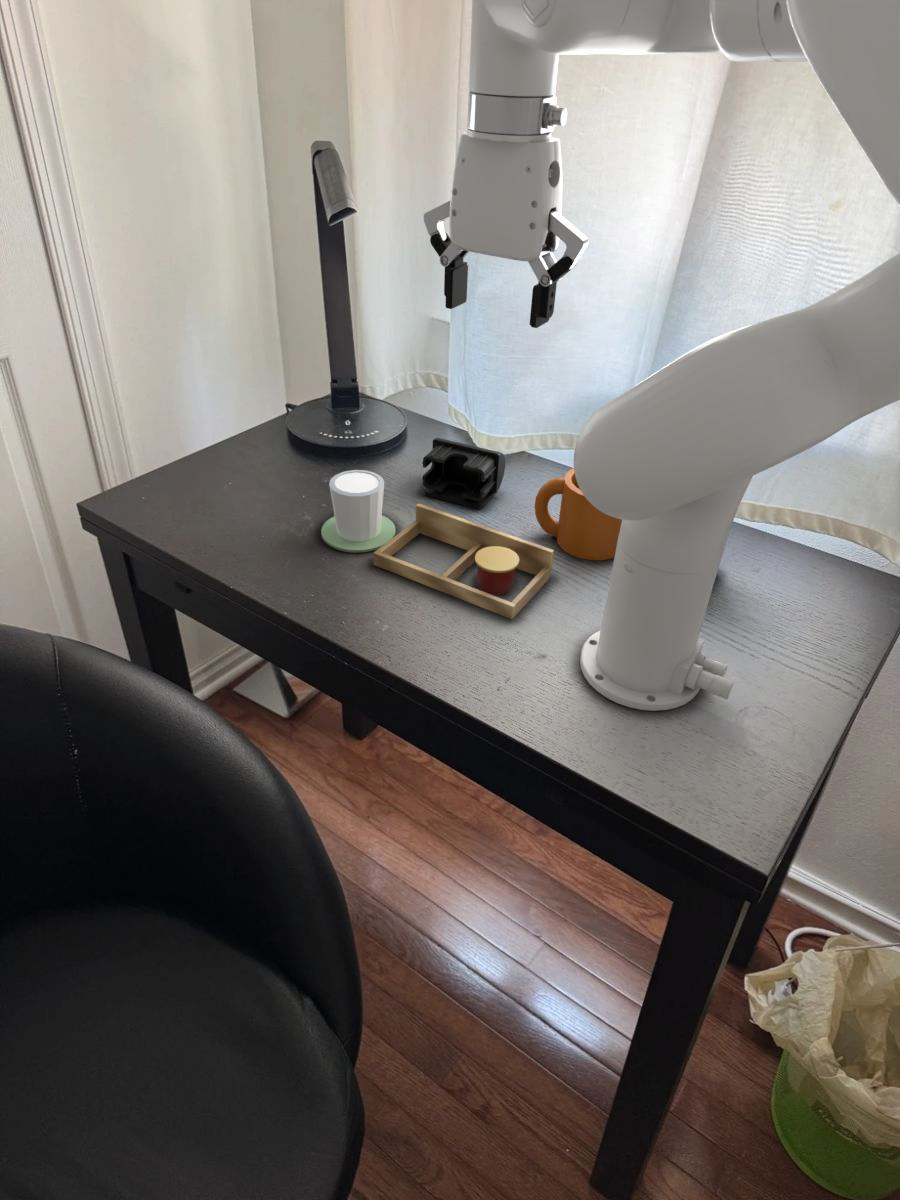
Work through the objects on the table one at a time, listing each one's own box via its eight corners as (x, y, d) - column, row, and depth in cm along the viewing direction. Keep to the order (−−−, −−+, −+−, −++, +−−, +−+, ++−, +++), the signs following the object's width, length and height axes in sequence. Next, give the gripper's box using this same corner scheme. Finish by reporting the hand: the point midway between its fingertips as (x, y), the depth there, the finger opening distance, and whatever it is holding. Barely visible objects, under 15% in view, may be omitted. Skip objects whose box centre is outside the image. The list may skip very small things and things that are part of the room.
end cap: (503, 488, 114) (507, 445, 109) (484, 511, 108) (487, 466, 104) (440, 473, 117) (442, 430, 113) (419, 494, 111) (419, 450, 107)
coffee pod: (524, 580, 96) (527, 554, 93) (503, 601, 92) (506, 576, 90) (486, 566, 98) (488, 541, 95) (465, 587, 94) (466, 561, 92)
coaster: (409, 527, 104) (409, 524, 104) (366, 561, 98) (366, 558, 97) (351, 506, 108) (351, 503, 108) (305, 537, 102) (305, 534, 101)
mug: (548, 511, 109) (555, 452, 103) (632, 535, 105) (645, 474, 99) (523, 542, 102) (529, 480, 97) (612, 568, 98) (624, 505, 93)
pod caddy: (550, 577, 96) (554, 549, 94) (512, 619, 89) (515, 591, 87) (418, 529, 104) (418, 503, 102) (373, 565, 97) (372, 537, 95)
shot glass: (377, 547, 99) (375, 498, 95) (324, 540, 100) (321, 491, 96) (391, 520, 105) (390, 472, 101) (341, 513, 106) (339, 466, 102)
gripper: (617, 124, 69) (590, 322, 79) (449, 106, 76) (443, 290, 86) (582, 131, 64) (558, 342, 74) (405, 112, 71) (405, 307, 81)
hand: (496, 314), depth 80 cm, fingers open, 9 cm apart
